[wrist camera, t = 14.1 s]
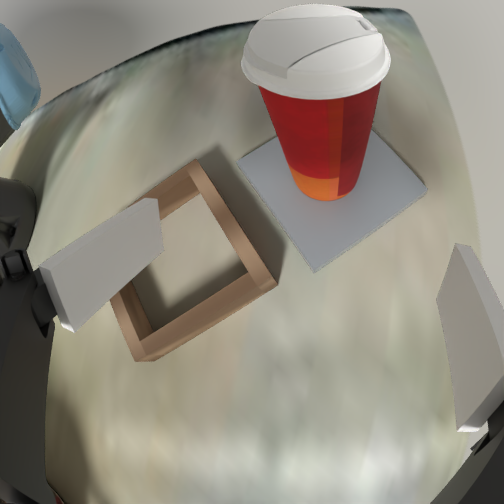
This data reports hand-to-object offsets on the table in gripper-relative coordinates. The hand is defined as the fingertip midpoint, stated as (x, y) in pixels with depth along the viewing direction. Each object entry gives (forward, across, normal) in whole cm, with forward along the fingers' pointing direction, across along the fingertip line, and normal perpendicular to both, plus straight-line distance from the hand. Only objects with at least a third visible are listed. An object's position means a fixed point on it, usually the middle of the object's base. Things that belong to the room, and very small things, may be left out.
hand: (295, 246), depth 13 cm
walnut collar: (+8, -11, -8) cm, 16 cm away
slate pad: (+15, 0, -1) cm, 15 cm away
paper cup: (+15, 0, -1) cm, 15 cm away
